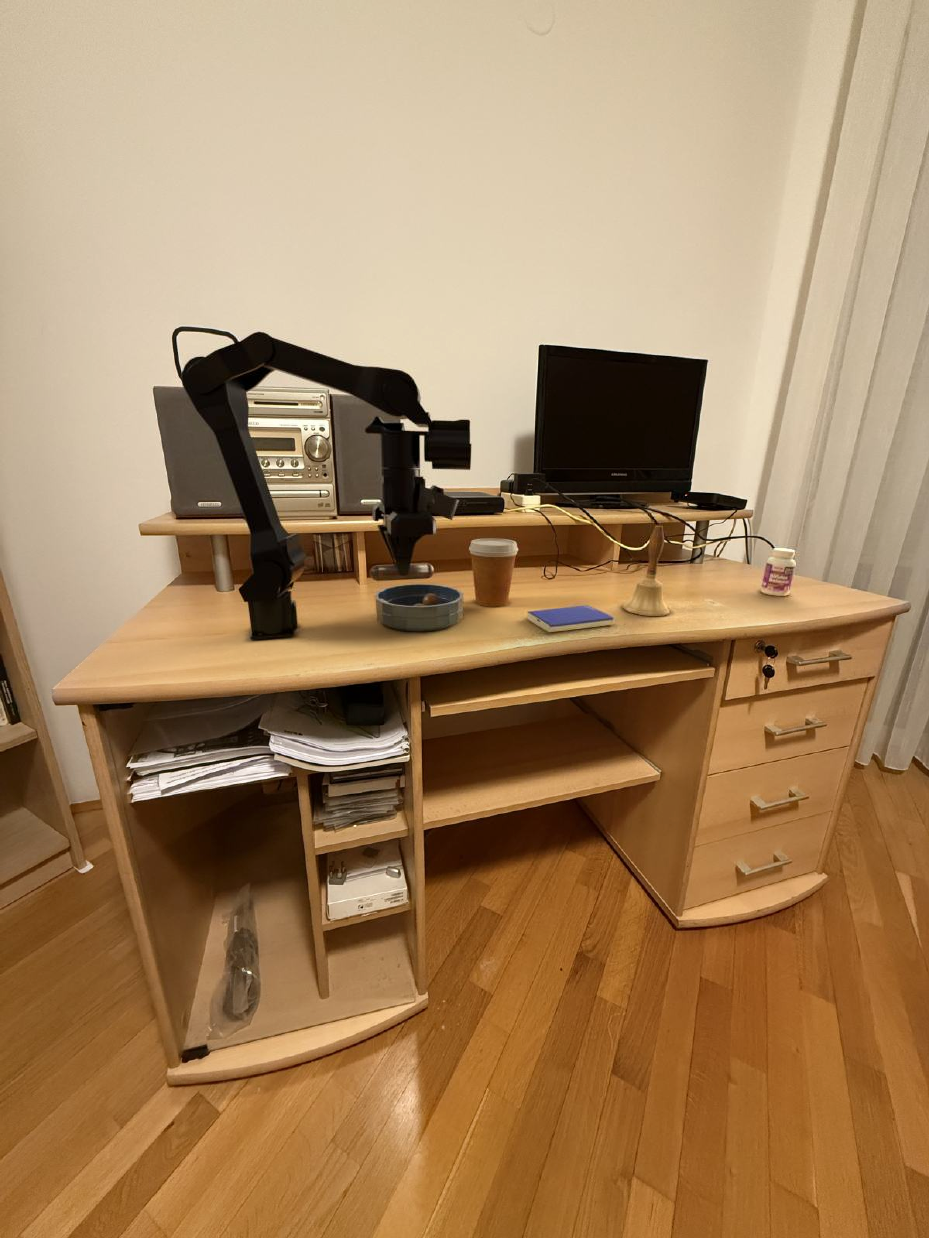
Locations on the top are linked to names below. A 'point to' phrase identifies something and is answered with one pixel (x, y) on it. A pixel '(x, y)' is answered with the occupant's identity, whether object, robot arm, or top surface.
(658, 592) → the hand bell
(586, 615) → the hard drive
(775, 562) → the pill bottle
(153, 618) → the top surface
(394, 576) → the stick
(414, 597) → the bowl
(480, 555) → the disposable coffee cup
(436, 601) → the glossy brown ball
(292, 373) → the robot arm
